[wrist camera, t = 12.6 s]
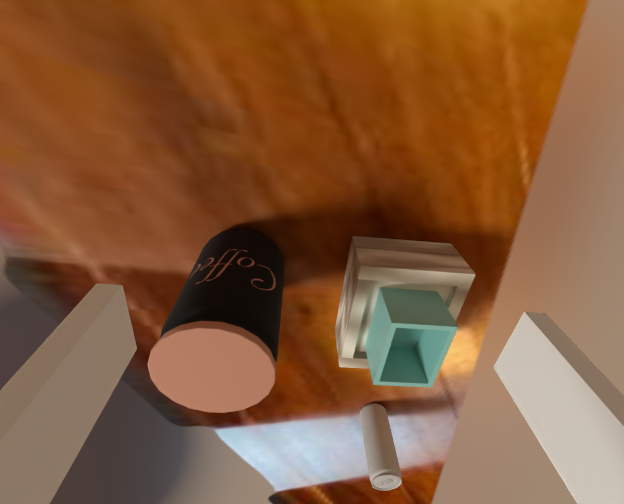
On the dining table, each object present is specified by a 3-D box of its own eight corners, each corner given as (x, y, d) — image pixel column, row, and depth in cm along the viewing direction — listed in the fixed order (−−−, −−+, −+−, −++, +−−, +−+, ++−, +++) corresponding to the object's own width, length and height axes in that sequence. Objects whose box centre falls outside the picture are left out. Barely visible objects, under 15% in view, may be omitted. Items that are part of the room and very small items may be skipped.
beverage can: (389, 413, 61) (406, 486, 51) (364, 420, 62) (377, 493, 52) (380, 398, 59) (397, 471, 48) (355, 406, 60) (366, 479, 49)
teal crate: (379, 287, 39) (391, 322, 34) (437, 291, 39) (458, 327, 34) (364, 345, 44) (373, 384, 38) (416, 348, 44) (431, 387, 39)
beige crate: (352, 235, 42) (360, 265, 36) (451, 243, 43) (476, 274, 37) (334, 329, 50) (339, 367, 44) (418, 334, 51) (434, 372, 45)
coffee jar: (292, 234, 42) (287, 339, 26) (277, 299, 47) (264, 419, 31) (206, 216, 40) (146, 317, 25) (199, 286, 45) (147, 405, 30)
